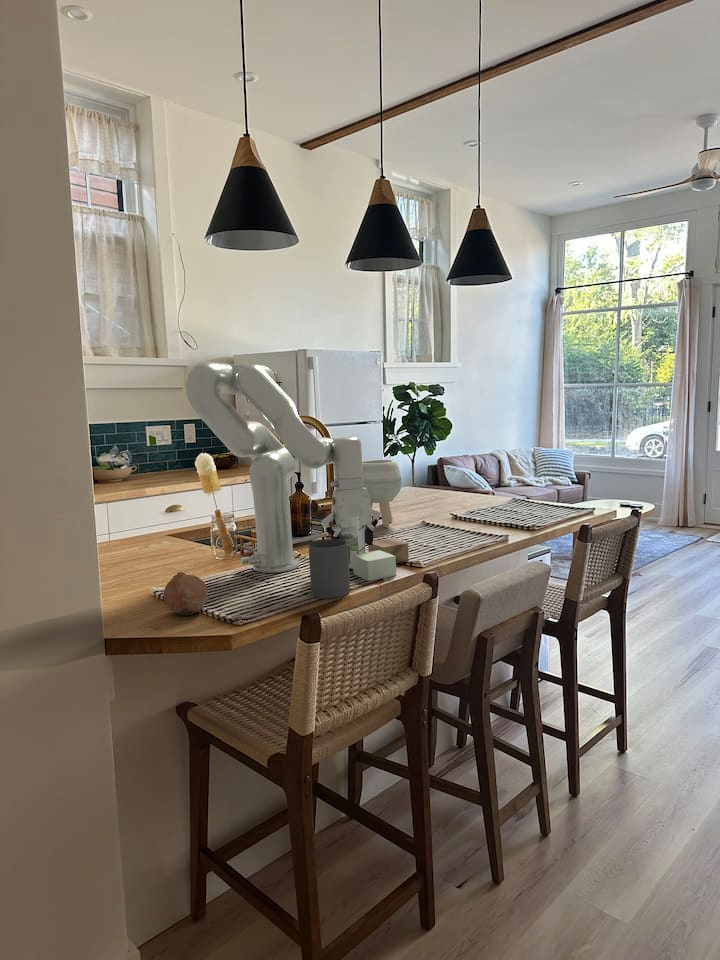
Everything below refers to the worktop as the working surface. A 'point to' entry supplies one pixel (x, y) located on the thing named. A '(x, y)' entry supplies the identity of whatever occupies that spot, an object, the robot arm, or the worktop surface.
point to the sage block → (374, 565)
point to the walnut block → (391, 548)
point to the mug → (329, 568)
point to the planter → (382, 485)
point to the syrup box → (354, 538)
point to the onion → (185, 594)
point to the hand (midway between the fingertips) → (353, 547)
